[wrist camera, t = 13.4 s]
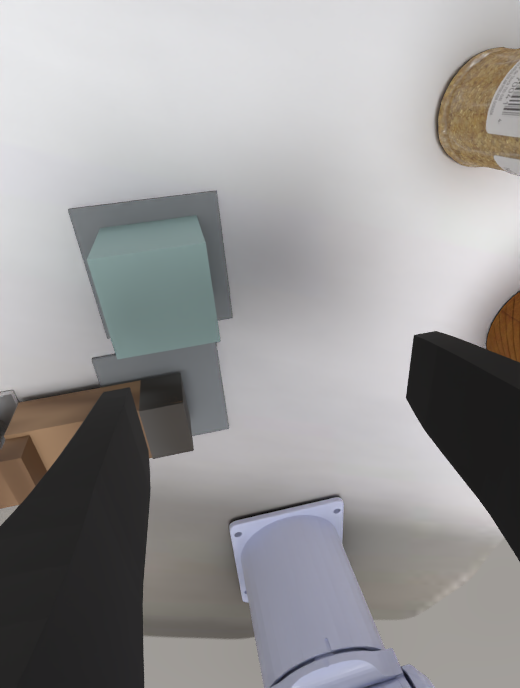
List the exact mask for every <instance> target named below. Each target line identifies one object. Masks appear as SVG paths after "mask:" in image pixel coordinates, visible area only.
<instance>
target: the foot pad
mask: <svg viewBox="0 0 520 688" xmlns="http://www.w3.org/2000/svg"><path fill="white" fill-rule="evenodd" d="M92 362H93V365H94V368H95V371H96V374H97V377H98V380H99V383H100V386H101V387H107V386H112V385H118V384H123V383H128V382H134V381H139V380H145V379H150V378H156V377H161V376H167V375H172V374H178V373H181V377H182V382H183V387H184V391H185V396H186V401H187V405H188V410H189V415H190V420H191V430H192V436H195V435H200V434H205V433H210V432H215V431H220V430H225V429H229V425H228V419H227V412H226V406H225V399H224V393H223V386H222V380H221V373H220V367H219V361H218V354H217V348H216V342H214V343H208V344H203V345H197V346H191V347H186V348H180V349H174V350H168V351H163V352H157V353H151V354H146V355H140V356H134V357H129V358H123V359H117V357H116V354H115V355H109V356H103V357H98V358H92Z"/></svg>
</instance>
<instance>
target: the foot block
mask: <svg viewBox="0 0 520 688" xmlns="http://www.w3.org/2000/svg"><path fill="white" fill-rule="evenodd" d="M87 262H88V265H89V269H90V272H91V275H92V278H93V282H94V285H95V288H96V292H97V295H98V298H99V301H100V305H101V308H102V311H103V315H104V318H105V321H106V324H107V328H108V331H109V334H110V337H111V341H112V344H113V347H114V351H115V354H116V357H117V359H123V358H129V357H134V356H140V355H146V354H151V353H157V352H163V351H168V350H174V349H180V348H186V347H191V346H197V345H203V344H208V343H214V342H220V335H219V328H218V321H217V315H216V308H215V301H214V295H213V288H212V281H211V275H210V268H209V262H208V255H207V248H206V242H205V239H204V236H203V233H202V230H201V227H200V224H199V221H198V218H197V215H194V216H187V217H179V218H172V219H164V220H157V221H150V222H142V223H135V224H127V225H120V226H112V227H105V228H100V230H99V232H98V234H97V237H96V239H95V242H94V244H93V246H92V249H91V251H90V253H89V256H88V258H87Z"/></svg>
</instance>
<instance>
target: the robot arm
mask: <svg viewBox="0 0 520 688" xmlns="http://www.w3.org/2000/svg"><path fill="white" fill-rule="evenodd" d="M406 399H407V401H408V402H409V404H410V406H411V408H412V410H413V411H414V413H415V415H416V417H417V418H418V420H419V422H420V423H421V425H422V427H423V428H424V430H425V431H426V433H427V434H428V435H429V437H430V438H431V439H432V440H433V442H434V443H435V444H436V446H437V447H438V448H439V450H440V451H441V452H442V453H443V455H444V456H445V457H446V458H447V460H448V461H449V462H450V464H451V465H452V466H453V467H454V469H455V470H456V471H457V472H458V474H459V475H460V476H461V477H462V479H463V480H464V481H465V482H466V484H467V485H468V486H469V488H470V489H471V490H472V491H473V493H474V494H475V495H476V496H477V498H478V499H479V500H480V502H481V503H482V504H483V506H484V507H485V509H486V510H487V511H488V513H489V514H490V515H491V517H492V519H493V520H494V522H495V523H496V525H497V526H498V528H499V529H500V531H501V533H502V534H503V536H504V537H505V539H506V540H507V542H508V543H509V545H510V547H511V548H512V550H513V551H514V553H515V555H516V556H517V558H518V560H519V561H520V362H518V361H515V360H512V359H510V358H507V357H505V356H502V355H499V354H497V353H494V352H492V351H489V350H487V349H484V348H482V347H479V346H477V345H474V344H472V343H469V342H466V341H464V340H461V339H458V338H456V337H453V336H450V335H447V334H444V333H440V332H437V331H434V332H429V333H423V334H418V335H414V339H413V347H412V355H411V363H410V371H409V379H408V386H407V394H406ZM149 502H150V467H149V450H148V447H147V443H146V440H145V437H144V433H143V430H142V426H141V423H140V420H139V416H138V413H137V410H136V406H135V403H134V399H133V396H132V393H131V389H130V387H128V388H123V389H117V390H112V391H106V392H103V393H102V395H101V396H100V397H99V399H98V400H97V402H96V403H95V405H94V406H93V408H92V409H91V411H90V412H89V414H88V415H87V417H86V418H85V420H84V421H83V423H82V424H81V425H80V427H79V428H78V430H77V431H76V433H75V434H74V436H73V437H72V439H71V440H70V441H69V443H68V444H67V446H66V447H65V448H64V450H63V451H62V453H61V454H60V455H59V457H58V458H57V459H56V461H55V462H54V463H53V465H52V466H51V467H50V469H49V470H48V471H47V472H46V474H45V475H44V476H43V477H42V479H41V480H40V481H39V482H38V484H37V485H36V486H35V487H34V489H33V490H32V491H31V492H30V494H29V495H28V496H27V497H26V498H25V500H24V501H23V502H22V503H21V504H20V505H19V506H18V508H17V509H16V510H15V511H14V512H13V513H12V514H11V515H10V516H9V517H8V519H7V520H6V521H5V522H4V523H3V524H2V525H1V526H0V688H144V663H143V662H144V660H143V605H142V603H143V579H144V566H145V554H146V541H147V528H148V515H149ZM343 510H344V503H343V501H342V499H341V498H339V497H335V498H331V499H326V500H322V501H318V502H313V503H309V504H305V505H301V506H296V507H292V508H288V509H283V510H279V511H275V512H271V513H266V514H262V515H258V516H253V517H249V518H245V519H240V520H236V521H233V522H232V523H231V524H230V525H229V529H230V535H231V540H232V546H233V551H234V557H235V562H236V567H237V573H238V578H239V584H240V589H241V595H242V600H243V601H244V602H249V607H250V613H251V618H252V624H253V629H254V635H255V640H256V646H257V651H258V657H259V662H260V667H261V673H262V679H263V684H264V688H435V687H434V685H433V684H432V682H431V681H430V680H429V678H428V677H427V676H426V675H424V674H423V673H421V672H420V671H418V670H417V669H416V668H415V667H414V666H412V665H410V664H407V665H404V666H401V667H400V664H399V662H398V660H397V657H396V655H395V653H394V651H393V649H392V648H388V649H385V647H384V644H383V642H382V639H381V637H380V635H379V632H378V630H377V627H376V625H375V622H374V620H373V618H372V615H371V613H370V610H369V608H368V605H367V603H366V601H365V598H364V596H363V593H362V591H361V589H360V586H359V584H358V581H357V579H356V576H355V574H354V572H353V569H352V567H351V564H350V562H349V560H348V557H347V555H346V552H345V550H344V547H343V545H342V538H343Z"/></svg>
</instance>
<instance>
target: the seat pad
mask: <svg viewBox="0 0 520 688" xmlns="http://www.w3.org/2000/svg"><path fill="white" fill-rule="evenodd" d="M68 211H69V215H70V218H71V221H72V224H73V228H74V231H75V234H76V237H77V241H78V244H79V247H80V250H81V254H82V257H83V260H84V263H85V267H86V270H87V273H88V277H89V280H90V283H91V286H92V290H93V293H94V296H95V299H96V303H97V306H98V309H99V312H100V316H101V319H102V322H103V325H104V329H105V332H106V335H107V338H108V339H109V338H111V337H110V334H109V331H108V328H107V324H106V321H105V318H104V315H103V311H102V308H101V305H100V301H99V298H98V295H97V292H96V288H95V285H94V282H93V278H92V275H91V272H90V269H89V265H88V262H87V258H88V256H89V253H90V251H91V249H92V246H93V244H94V242H95V239H96V237H97V234H98V232H99V230H100V228H105V227H112V226H120V225H127V224H135V223H142V222H150V221H157V220H164V219H172V218H179V217H187V216H194V215H197V218H198V221H199V224H200V227H201V230H202V233H203V236H204V239H205V242H206V248H207V255H208V262H209V268H210V275H211V281H212V288H213V295H214V301H215V308H216V315H217V320H223V319H229V318H233V317H232V309H231V301H230V293H229V285H228V278H227V270H226V262H225V254H224V246H223V238H222V230H221V222H220V214H219V206H218V198H217V191H209V192H201V193H193V194H185V195H177V196H169V197H161V198H153V199H145V200H137V201H129V202H121V203H112V204H104V205H96V206H88V207H80V208H72V209H68Z"/></svg>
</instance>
